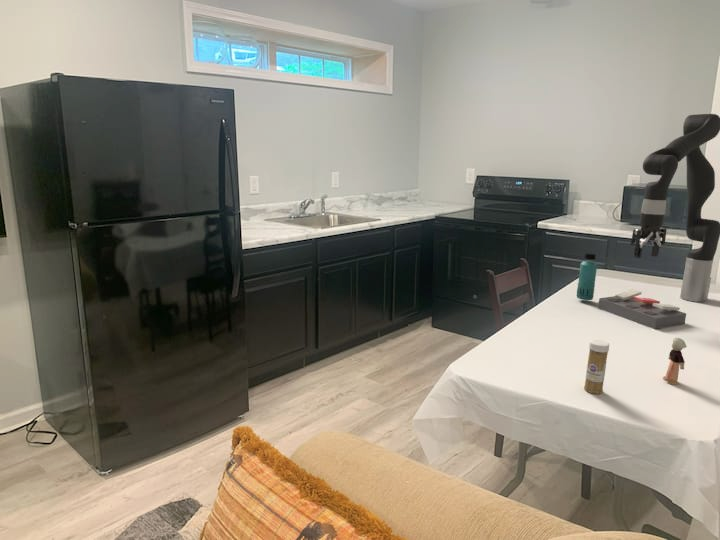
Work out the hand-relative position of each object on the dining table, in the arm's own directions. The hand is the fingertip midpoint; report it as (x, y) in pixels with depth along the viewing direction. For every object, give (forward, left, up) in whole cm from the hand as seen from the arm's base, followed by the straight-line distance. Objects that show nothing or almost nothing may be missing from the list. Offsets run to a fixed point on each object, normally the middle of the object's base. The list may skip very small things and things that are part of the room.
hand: (645, 256), depth 193 cm
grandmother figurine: (+39, +44, -23) cm, 63 cm away
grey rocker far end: (-4, +8, -17) cm, 19 cm away
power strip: (-1, 0, -23) cm, 23 cm away
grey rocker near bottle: (-4, -8, -17) cm, 20 cm away
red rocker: (-4, 0, -17) cm, 18 cm away
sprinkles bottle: (+63, +40, -23) cm, 78 cm away
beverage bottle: (+5, -21, -23) cm, 31 cm away
